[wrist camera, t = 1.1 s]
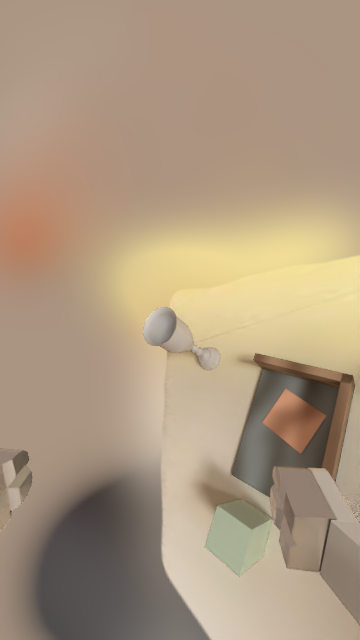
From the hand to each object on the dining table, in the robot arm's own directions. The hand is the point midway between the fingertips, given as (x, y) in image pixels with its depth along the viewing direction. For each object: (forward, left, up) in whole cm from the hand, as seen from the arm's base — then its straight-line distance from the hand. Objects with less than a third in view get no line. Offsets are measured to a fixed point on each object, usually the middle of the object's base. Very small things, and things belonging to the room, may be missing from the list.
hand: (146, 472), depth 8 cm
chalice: (+24, -11, -40) cm, 48 cm away
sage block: (+7, +12, -40) cm, 42 cm away
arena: (+5, -3, -39) cm, 40 cm away
